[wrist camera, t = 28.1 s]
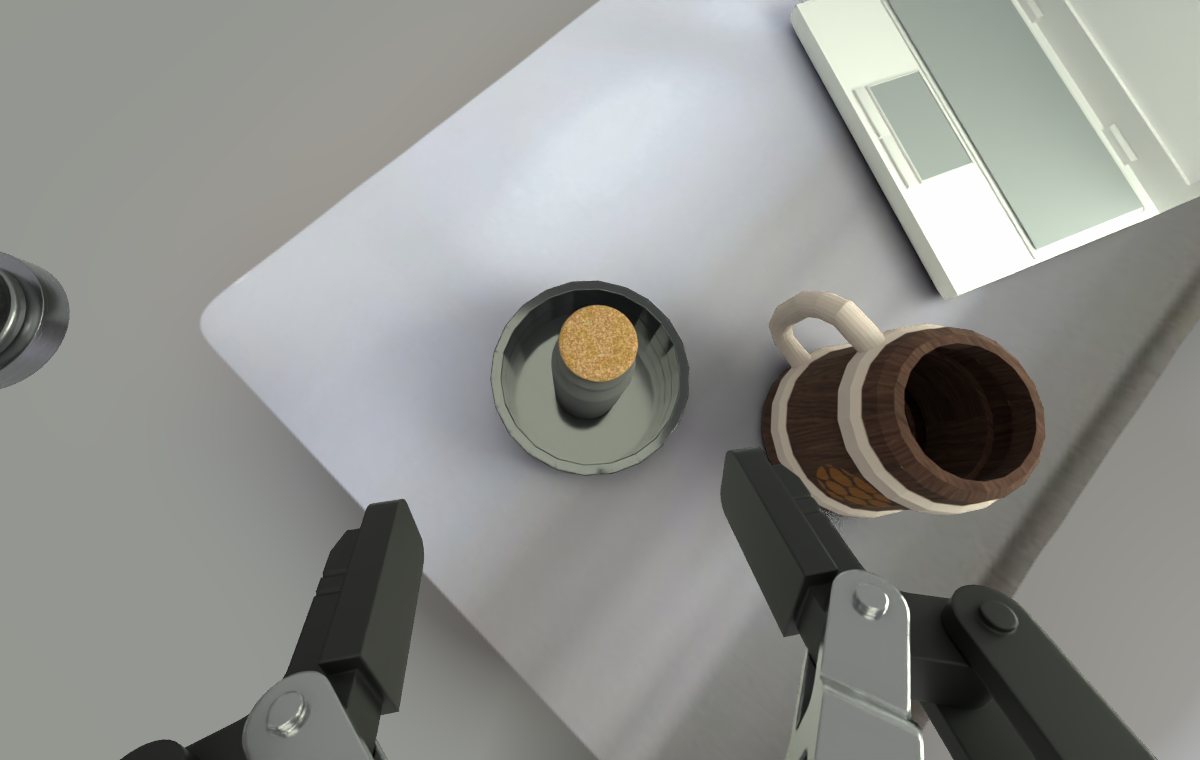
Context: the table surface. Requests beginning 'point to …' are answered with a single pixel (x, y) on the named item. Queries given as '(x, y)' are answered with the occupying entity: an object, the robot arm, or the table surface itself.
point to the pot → (634, 417)
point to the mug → (899, 414)
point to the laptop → (1014, 119)
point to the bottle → (593, 360)
